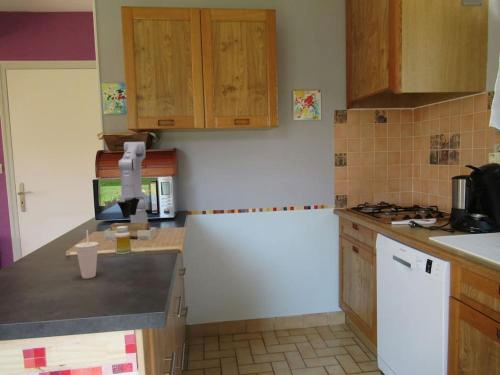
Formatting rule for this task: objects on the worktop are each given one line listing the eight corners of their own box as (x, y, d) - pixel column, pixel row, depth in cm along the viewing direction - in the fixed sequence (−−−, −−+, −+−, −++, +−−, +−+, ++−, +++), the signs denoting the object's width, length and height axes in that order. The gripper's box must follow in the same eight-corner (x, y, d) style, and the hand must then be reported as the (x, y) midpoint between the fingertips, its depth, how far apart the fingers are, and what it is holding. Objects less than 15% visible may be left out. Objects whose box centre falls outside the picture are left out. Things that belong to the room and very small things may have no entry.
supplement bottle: (133, 252, 130) (132, 226, 129) (119, 255, 126) (118, 228, 125) (126, 250, 134) (125, 225, 133) (113, 252, 130) (111, 227, 129)
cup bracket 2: (143, 236, 158) (143, 227, 158) (156, 236, 158) (155, 227, 157) (137, 239, 151) (137, 230, 151) (150, 239, 151) (150, 230, 150)
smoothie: (85, 281, 99) (82, 232, 97) (72, 277, 102) (69, 230, 101) (105, 275, 104) (102, 228, 103) (92, 271, 107) (89, 227, 106)
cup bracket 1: (111, 236, 159) (111, 228, 158) (124, 236, 158) (123, 227, 158) (104, 240, 152) (103, 231, 151) (117, 240, 151) (116, 231, 151)
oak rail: (115, 234, 157) (114, 222, 157) (150, 233, 156) (149, 222, 156) (110, 236, 153) (110, 224, 153) (146, 235, 152) (146, 224, 152)
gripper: (125, 184, 160) (127, 213, 161) (111, 187, 146) (113, 219, 147) (140, 184, 160) (142, 213, 161) (128, 186, 146) (129, 218, 147)
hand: (129, 216), depth 154 cm, fingers open, 7 cm apart
